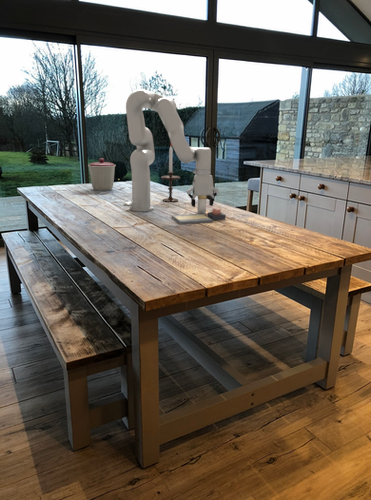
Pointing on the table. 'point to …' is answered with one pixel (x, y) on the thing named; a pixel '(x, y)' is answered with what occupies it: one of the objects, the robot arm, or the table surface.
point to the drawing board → (191, 218)
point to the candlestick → (170, 178)
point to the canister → (102, 175)
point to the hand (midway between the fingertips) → (202, 206)
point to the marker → (201, 205)
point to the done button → (216, 211)
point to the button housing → (216, 216)
